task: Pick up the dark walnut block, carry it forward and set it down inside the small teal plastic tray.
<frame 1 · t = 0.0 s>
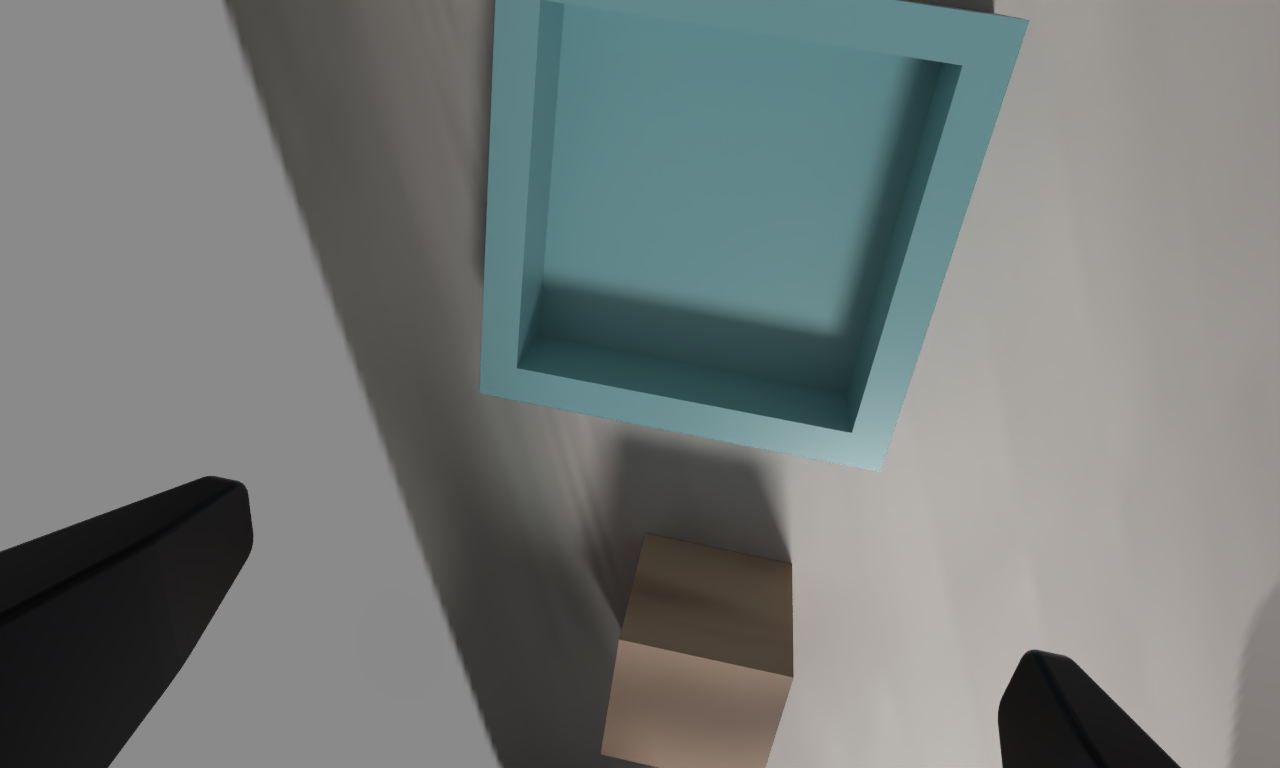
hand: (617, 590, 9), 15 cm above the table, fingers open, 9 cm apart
walnut block: (705, 601, 28), on the table
tray: (719, 204, 22), on the table
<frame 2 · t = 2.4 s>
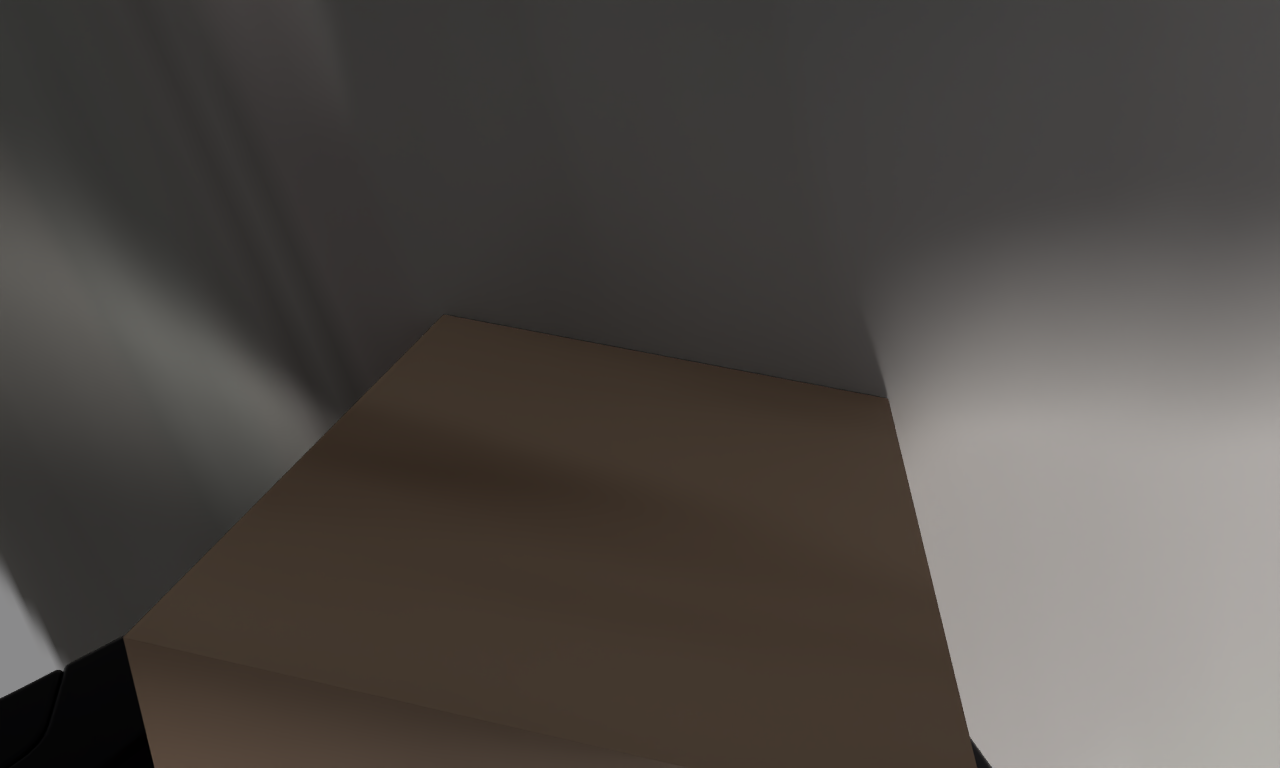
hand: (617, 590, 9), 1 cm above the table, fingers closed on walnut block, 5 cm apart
walnut block: (632, 533, 10), on the table, touching gripper
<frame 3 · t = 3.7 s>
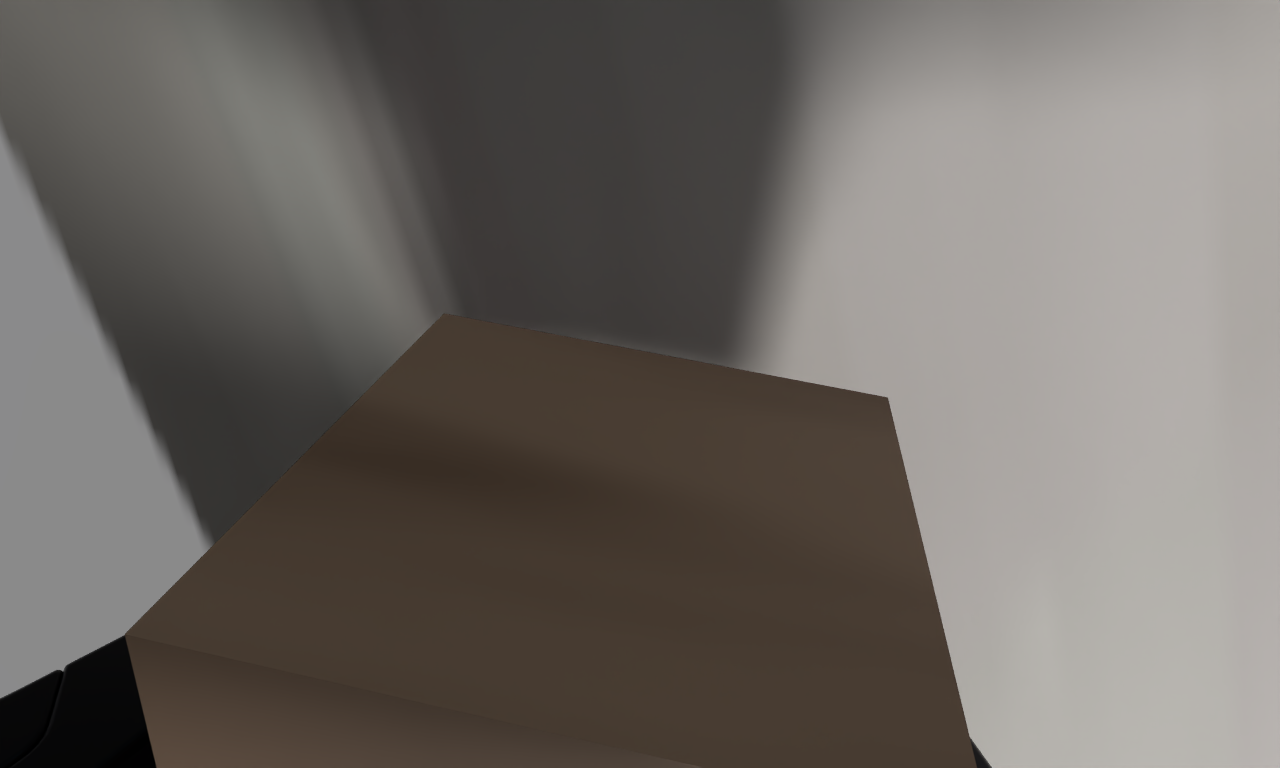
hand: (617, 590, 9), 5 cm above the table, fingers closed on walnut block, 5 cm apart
walnut block: (632, 532, 10), point 4 cm above the table, touching gripper
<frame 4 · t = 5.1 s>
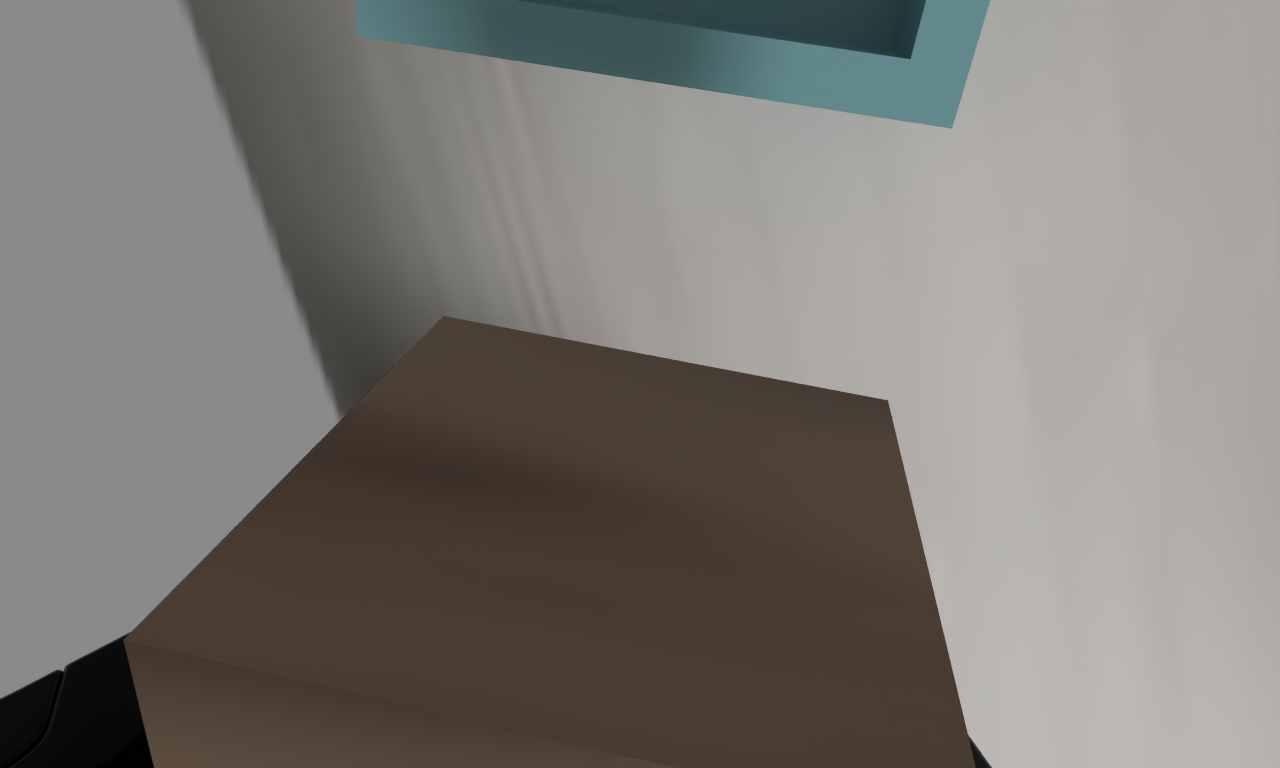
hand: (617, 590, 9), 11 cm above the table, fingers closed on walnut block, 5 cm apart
walnut block: (632, 534, 10), point 10 cm above the table, touching gripper
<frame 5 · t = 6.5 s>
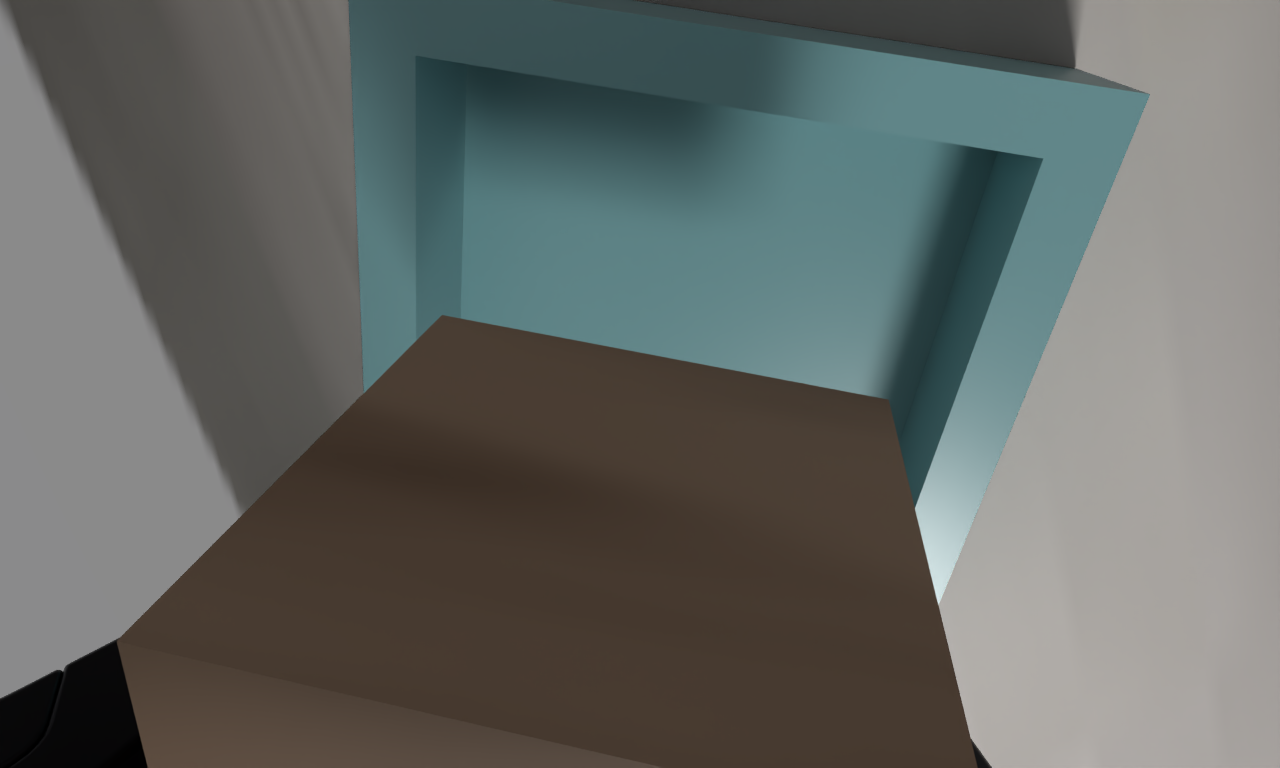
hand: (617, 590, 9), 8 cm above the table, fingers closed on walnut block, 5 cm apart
walnut block: (631, 534, 10), point 7 cm above the table, touching gripper
tray: (690, 314, 16), on the table
when the fingers open (3 cm above the table, at t = 7.6 s): walnut block drops 2 cm, resting on tray.
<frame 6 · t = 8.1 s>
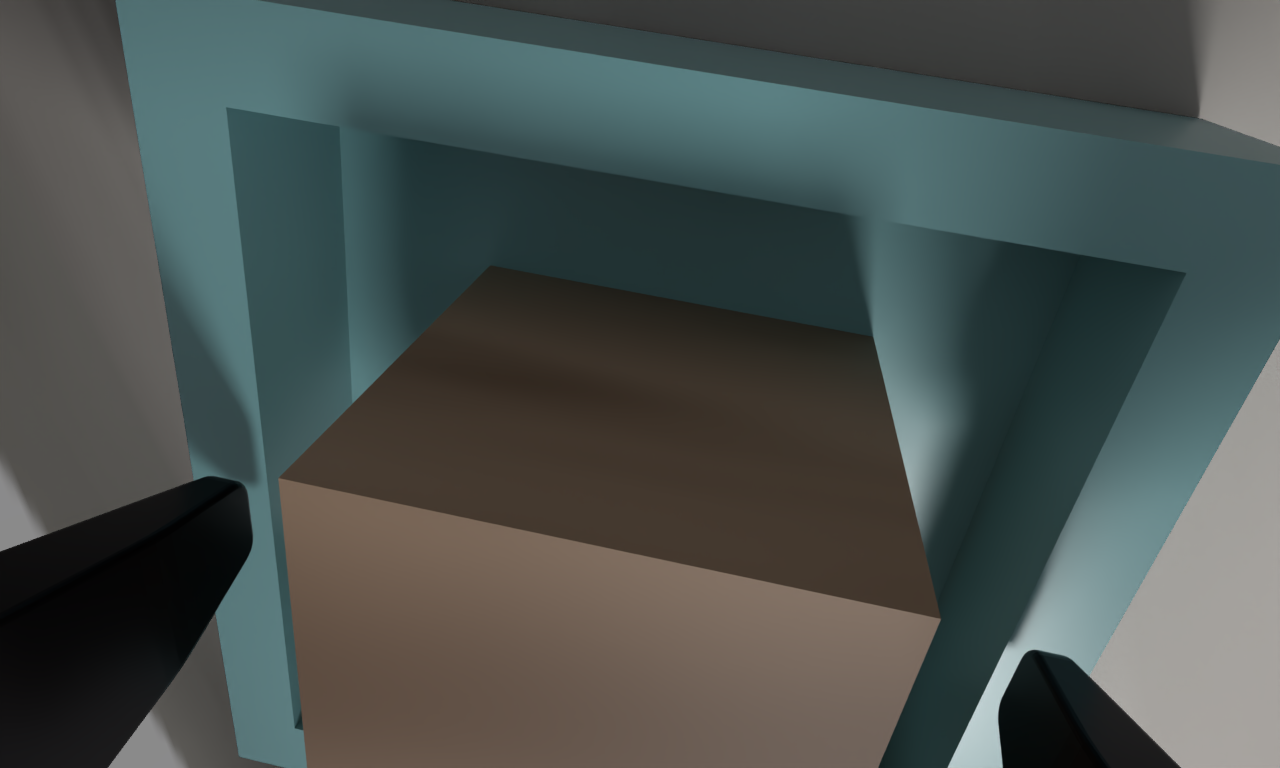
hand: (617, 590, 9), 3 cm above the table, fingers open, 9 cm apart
walnut block: (651, 461, 11), point 1 cm above the table, touching tray
tray: (659, 432, 12), on the table
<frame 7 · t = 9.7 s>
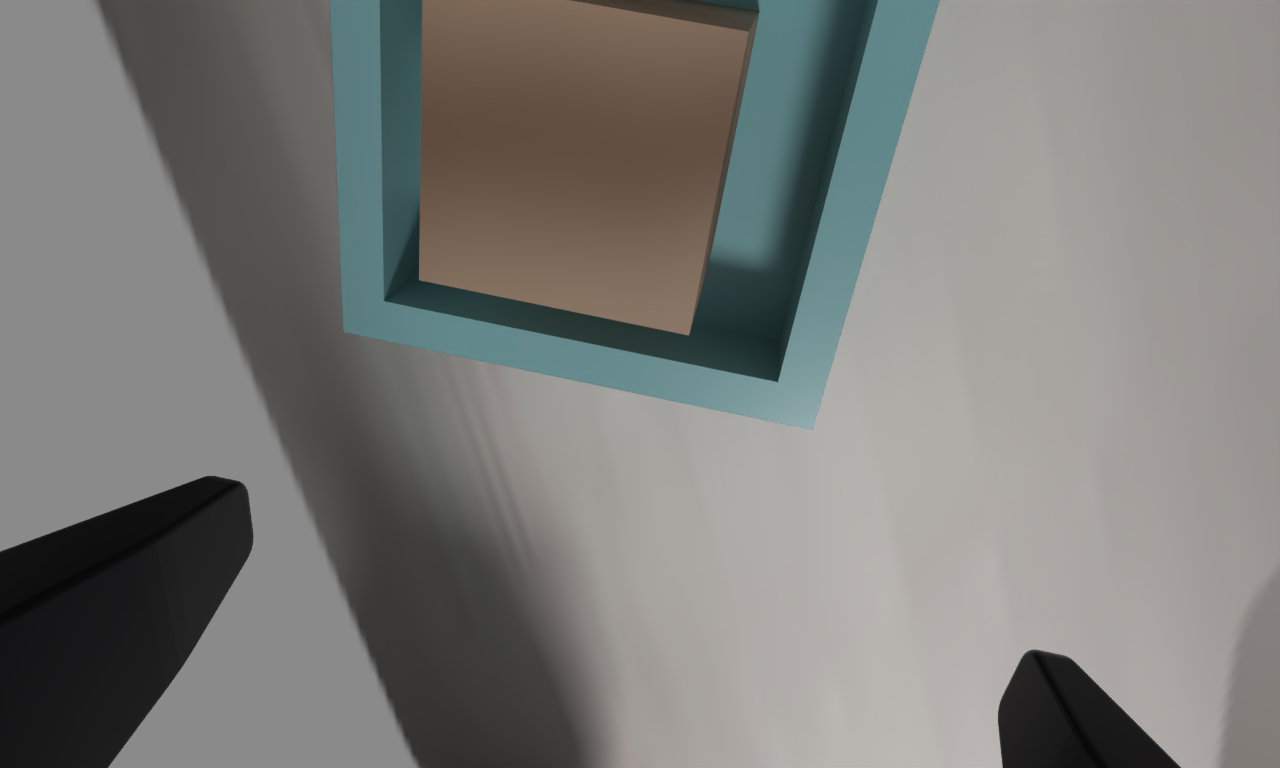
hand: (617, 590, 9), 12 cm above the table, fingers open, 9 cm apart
walnut block: (621, 116, 18), point 1 cm above the table, touching tray
tray: (628, 109, 18), on the table
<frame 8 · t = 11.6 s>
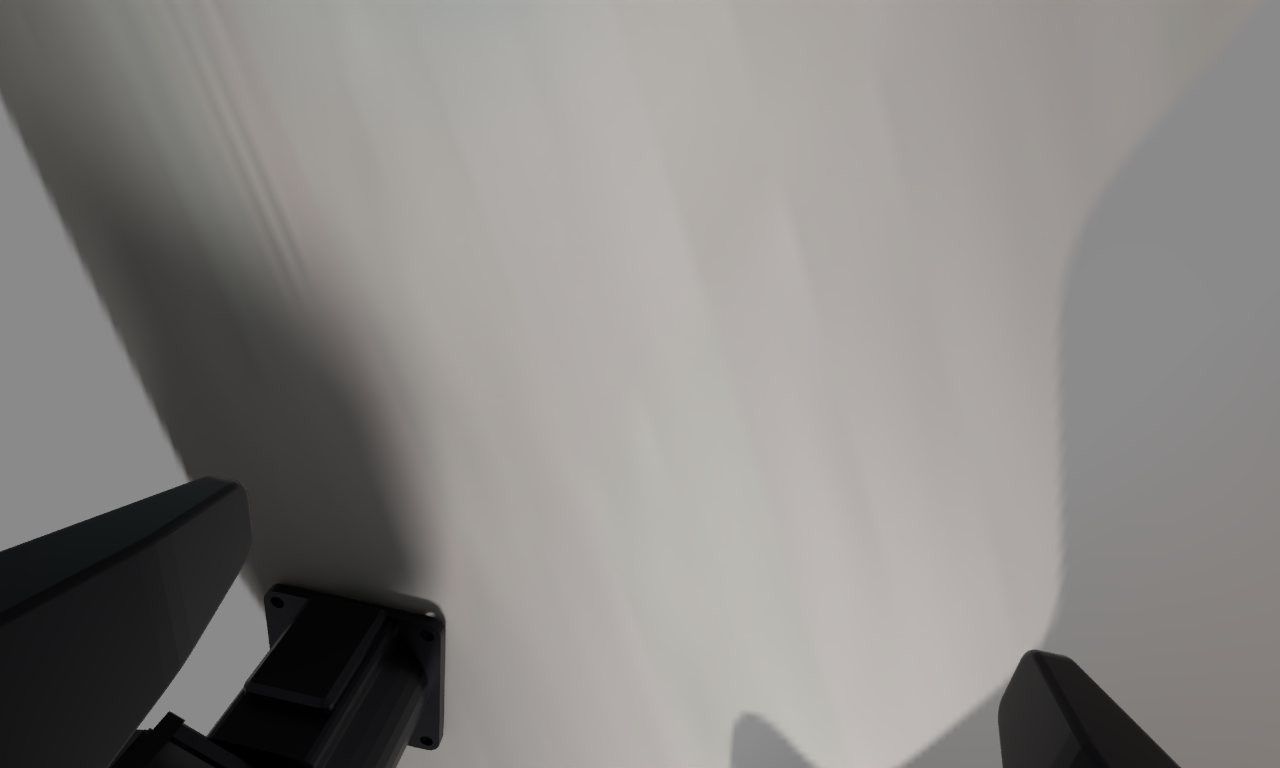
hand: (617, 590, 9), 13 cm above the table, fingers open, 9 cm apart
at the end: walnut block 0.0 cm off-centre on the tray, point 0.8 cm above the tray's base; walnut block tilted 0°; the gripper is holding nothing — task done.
